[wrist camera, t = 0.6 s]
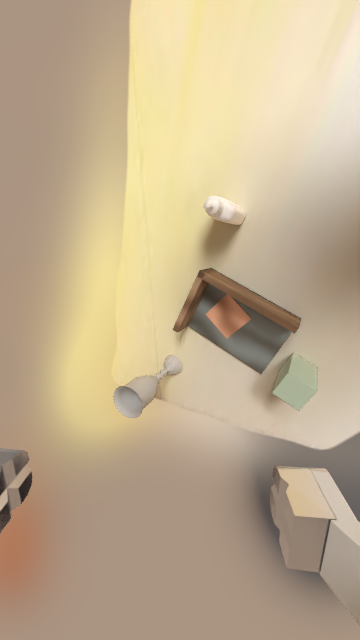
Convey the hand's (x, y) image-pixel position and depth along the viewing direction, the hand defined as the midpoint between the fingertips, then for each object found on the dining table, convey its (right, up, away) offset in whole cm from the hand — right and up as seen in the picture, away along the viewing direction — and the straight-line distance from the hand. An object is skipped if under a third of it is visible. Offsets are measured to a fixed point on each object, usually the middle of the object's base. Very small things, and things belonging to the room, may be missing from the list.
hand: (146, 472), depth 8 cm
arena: (+13, +5, +45) cm, 47 cm away
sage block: (+24, -5, +41) cm, 48 cm away
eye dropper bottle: (+11, +25, +40) cm, 49 cm away
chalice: (0, -6, +56) cm, 56 cm away
